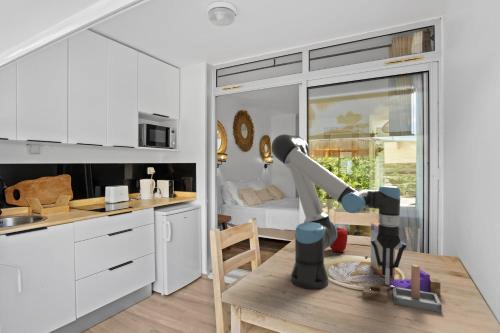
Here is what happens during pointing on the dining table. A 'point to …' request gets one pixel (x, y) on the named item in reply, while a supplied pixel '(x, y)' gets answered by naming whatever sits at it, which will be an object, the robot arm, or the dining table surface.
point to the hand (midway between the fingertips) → (387, 283)
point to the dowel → (415, 282)
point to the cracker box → (380, 249)
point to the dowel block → (375, 292)
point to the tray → (426, 300)
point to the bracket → (407, 283)
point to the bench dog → (435, 286)
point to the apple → (340, 241)
